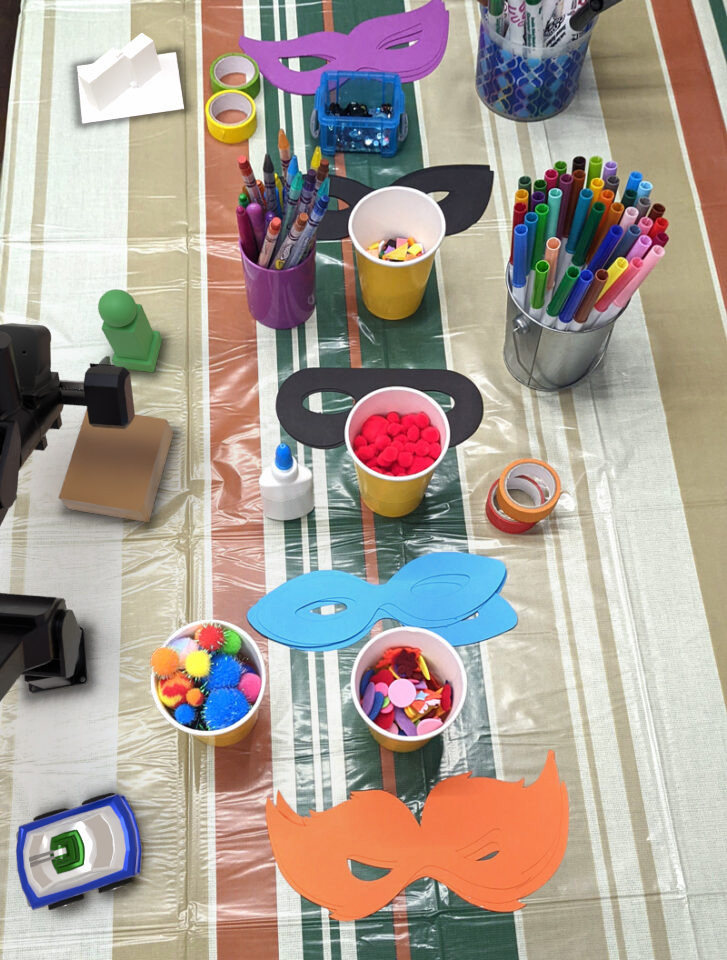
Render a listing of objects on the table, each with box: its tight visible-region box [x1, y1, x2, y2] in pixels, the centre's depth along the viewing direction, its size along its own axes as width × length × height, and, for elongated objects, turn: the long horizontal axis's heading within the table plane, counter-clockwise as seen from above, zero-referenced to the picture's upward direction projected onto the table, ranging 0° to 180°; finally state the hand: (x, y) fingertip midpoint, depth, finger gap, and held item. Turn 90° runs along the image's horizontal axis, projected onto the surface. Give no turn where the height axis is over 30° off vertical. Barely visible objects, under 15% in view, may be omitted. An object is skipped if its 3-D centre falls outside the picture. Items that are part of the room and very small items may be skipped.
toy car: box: [15, 792, 143, 911], centre depth 89 cm, size 9×12×10 cm
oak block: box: [58, 409, 174, 523], centre depth 107 cm, size 12×10×4 cm
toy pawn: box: [97, 288, 163, 373], centre depth 109 cm, size 5×5×13 cm
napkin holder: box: [76, 32, 185, 125], centre depth 128 cm, size 15×11×6 cm
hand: (67, 357), depth 97 cm, fingers open, 9 cm apart
